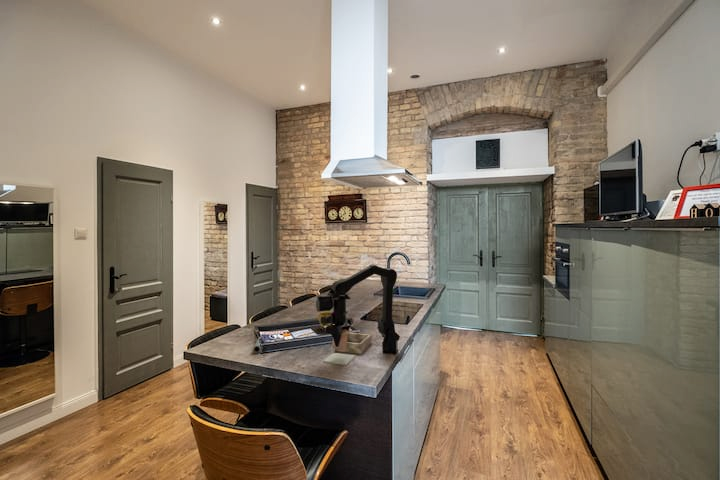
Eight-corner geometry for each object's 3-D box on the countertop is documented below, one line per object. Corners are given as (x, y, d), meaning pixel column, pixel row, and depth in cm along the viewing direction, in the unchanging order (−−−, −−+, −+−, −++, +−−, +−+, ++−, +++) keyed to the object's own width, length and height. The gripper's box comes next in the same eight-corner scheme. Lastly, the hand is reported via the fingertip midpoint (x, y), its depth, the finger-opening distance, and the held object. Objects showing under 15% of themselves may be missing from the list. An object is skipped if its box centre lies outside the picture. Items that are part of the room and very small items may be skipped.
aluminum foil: (259, 339, 185) (259, 333, 185) (271, 338, 186) (271, 332, 186) (253, 353, 163) (253, 346, 163) (267, 352, 164) (267, 345, 164)
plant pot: (332, 333, 194) (332, 316, 194) (315, 332, 196) (315, 315, 196) (337, 328, 204) (337, 312, 204) (321, 327, 206) (321, 311, 206)
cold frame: (371, 343, 174) (371, 334, 174) (361, 353, 159) (361, 344, 159) (347, 341, 179) (347, 332, 179) (335, 350, 163) (334, 341, 163)
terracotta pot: (350, 345, 154) (350, 329, 154) (344, 350, 147) (344, 333, 147) (335, 344, 157) (335, 328, 157) (329, 348, 150) (329, 332, 150)
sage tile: (355, 356, 155) (355, 355, 155) (346, 365, 145) (346, 363, 145) (333, 354, 159) (333, 352, 159) (323, 362, 149) (323, 360, 149)
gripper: (331, 304, 163) (332, 336, 164) (313, 312, 146) (314, 349, 146) (353, 305, 160) (353, 339, 160) (337, 314, 142) (338, 351, 142)
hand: (340, 344), depth 152 cm, fingers closed on terracotta pot, 6 cm apart
